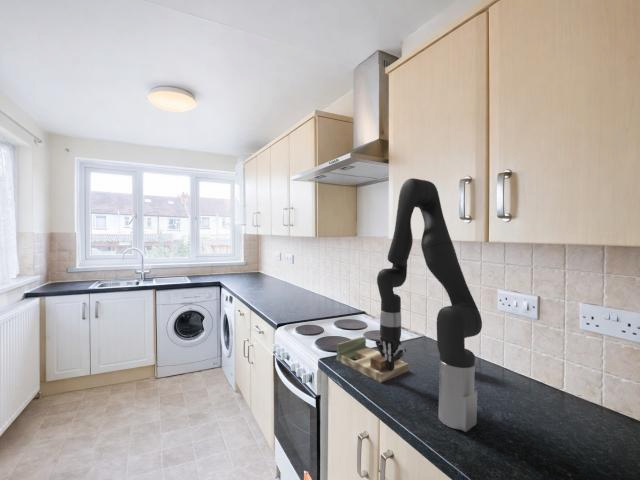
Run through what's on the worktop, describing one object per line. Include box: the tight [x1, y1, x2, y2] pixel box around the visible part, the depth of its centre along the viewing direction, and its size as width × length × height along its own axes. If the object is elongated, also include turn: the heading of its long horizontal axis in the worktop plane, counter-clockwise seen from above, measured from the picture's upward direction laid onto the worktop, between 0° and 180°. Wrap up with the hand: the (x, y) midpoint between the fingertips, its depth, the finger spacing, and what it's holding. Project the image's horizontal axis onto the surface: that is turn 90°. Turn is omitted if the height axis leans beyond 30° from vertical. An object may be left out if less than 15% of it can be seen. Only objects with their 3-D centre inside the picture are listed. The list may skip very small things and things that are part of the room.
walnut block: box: [370, 355, 386, 372], centre depth 117 cm, size 5×5×4 cm
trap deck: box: [336, 336, 409, 384], centre depth 126 cm, size 24×16×7 cm, turn 37°
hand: (389, 370), depth 114 cm, fingers closed
